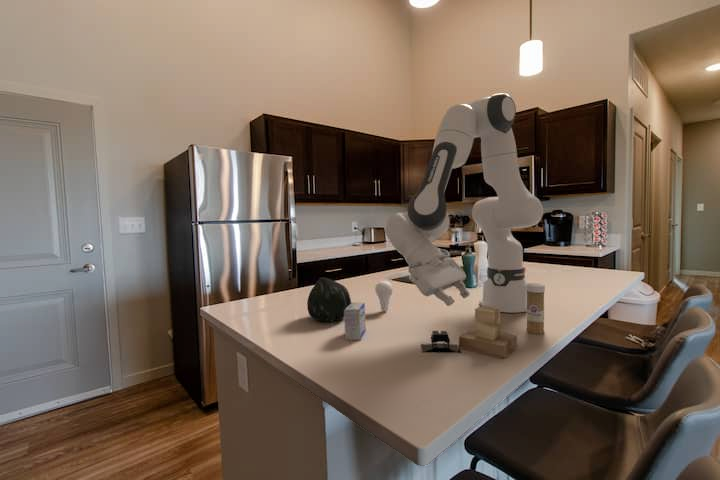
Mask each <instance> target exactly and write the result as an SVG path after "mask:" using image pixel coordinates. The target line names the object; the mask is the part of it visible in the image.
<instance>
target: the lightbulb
mask: <svg viewBox="0 0 720 480" xmlns="http://www.w3.org/2000/svg"><path fill="white" fill-rule="evenodd" d="M393 289H394V287H393V286H392V284H391V283H390V282H389V281H387V280H381V281H378V283H377V284H375V288H374V291H375V293H376V296H377V297H378V299H379V305H380V310H381V311H383V312H385V313H386V312H387V311H389V304H390V298H391V296H392V293H393Z"/></svg>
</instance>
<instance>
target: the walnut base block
mask: <svg viewBox="0 0 720 480" xmlns="http://www.w3.org/2000/svg"><path fill="white" fill-rule="evenodd" d="M458 338H459V339H458V347H459V349H460V350H461V349H463V350H466V351H470V352H475V353H479V354H482V355H486V356H490V357H494V358H498V359H499V358H500V359H503V360H505V358H507V357H508V356H509V355H510V354H511V353H512V352H513V351H514V350H515V349H516V348H517V344H518V343H517V342H518V341H517V334H513V333H507V332H502V331H500V336H498V337H497V338H496V339H495V340H490V339H485V338H480V337H476V336H475V326H473V327H472V328H470V329H468V330H467V331H465V332H463V333H462V334H461V335H459V337H458Z"/></svg>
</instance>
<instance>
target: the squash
mask: <svg viewBox="0 0 720 480" xmlns="http://www.w3.org/2000/svg"><path fill="white" fill-rule="evenodd" d="M348 290H349V289H348V288H347V287H346V286H344V285H343V284H341V283H339V282H337V281H336V280H333V279H331V278H327V277H319V278H318V280H317V281H316V283H315V284H314V286H313V287H312V289H311V290H310V292H309V294H308V297H307V303H306V306H307V311H308V314H309V316H310V318H311V319H314V320H316V321H319V322H323V323H324V322H326V321H327V322H330V323H332V322H334V321H341V320H344V310H345V309H346V308H347V307H348V305H349V304H350V303H352V299H351V296H350V292H349V291H348Z"/></svg>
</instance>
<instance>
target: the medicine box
mask: <svg viewBox="0 0 720 480" xmlns="http://www.w3.org/2000/svg"><path fill="white" fill-rule="evenodd" d="M365 306H366V303H365V302H351V303H350V304H349V305H348V307H347V308H346V309H345V310H344V318H343V320H344V321H343V322H344V336H345V340H348V341H361V340H362V338H363V336H364V334H365V333H366V330H367V329H366V327H367V326H366V307H365Z"/></svg>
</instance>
